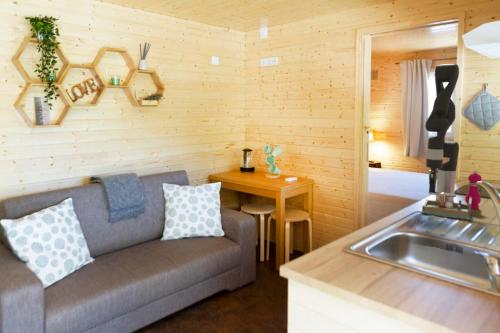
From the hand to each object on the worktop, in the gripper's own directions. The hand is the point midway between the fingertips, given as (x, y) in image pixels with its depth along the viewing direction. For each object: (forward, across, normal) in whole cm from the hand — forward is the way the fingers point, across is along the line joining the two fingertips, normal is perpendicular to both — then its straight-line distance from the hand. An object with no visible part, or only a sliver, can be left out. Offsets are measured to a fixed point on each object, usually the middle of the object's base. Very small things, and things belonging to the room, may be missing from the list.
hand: (432, 191), depth 209 cm
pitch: (+10, 0, +7) cm, 12 cm away
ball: (+6, 0, +8) cm, 10 cm away
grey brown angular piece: (+8, 0, +5) cm, 9 cm away
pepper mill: (+10, -16, +18) cm, 26 cm away
